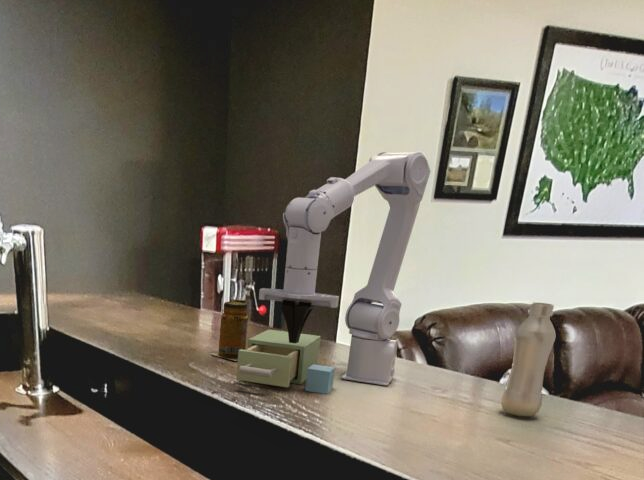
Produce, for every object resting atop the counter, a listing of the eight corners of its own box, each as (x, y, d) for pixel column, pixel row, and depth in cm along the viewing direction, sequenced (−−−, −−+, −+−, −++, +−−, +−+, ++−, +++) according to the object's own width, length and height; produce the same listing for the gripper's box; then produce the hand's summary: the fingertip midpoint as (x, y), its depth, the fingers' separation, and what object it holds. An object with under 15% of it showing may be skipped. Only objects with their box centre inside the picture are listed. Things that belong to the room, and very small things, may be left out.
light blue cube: (332, 389, 141) (335, 367, 140) (327, 394, 137) (330, 371, 136) (310, 385, 143) (312, 364, 141) (304, 390, 139) (307, 368, 137)
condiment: (232, 351, 169) (236, 300, 165) (258, 359, 163) (262, 305, 159) (209, 354, 165) (212, 301, 161) (234, 362, 159) (238, 307, 155)
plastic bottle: (542, 422, 127) (568, 308, 121) (502, 417, 128) (525, 304, 122) (533, 412, 133) (558, 303, 127) (495, 408, 134) (517, 300, 128)
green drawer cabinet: (300, 384, 143) (304, 346, 141) (245, 376, 147) (248, 339, 145) (316, 371, 155) (320, 336, 153) (265, 363, 159) (268, 329, 157)
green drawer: (280, 393, 132) (283, 362, 130) (226, 385, 135) (229, 355, 133) (304, 374, 147) (307, 346, 145) (256, 367, 151) (258, 340, 149)
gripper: (256, 265, 130) (250, 340, 134) (336, 273, 124) (327, 350, 129) (268, 263, 136) (261, 334, 140) (344, 270, 131) (335, 344, 135)
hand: (293, 342), depth 135 cm, fingers closed
